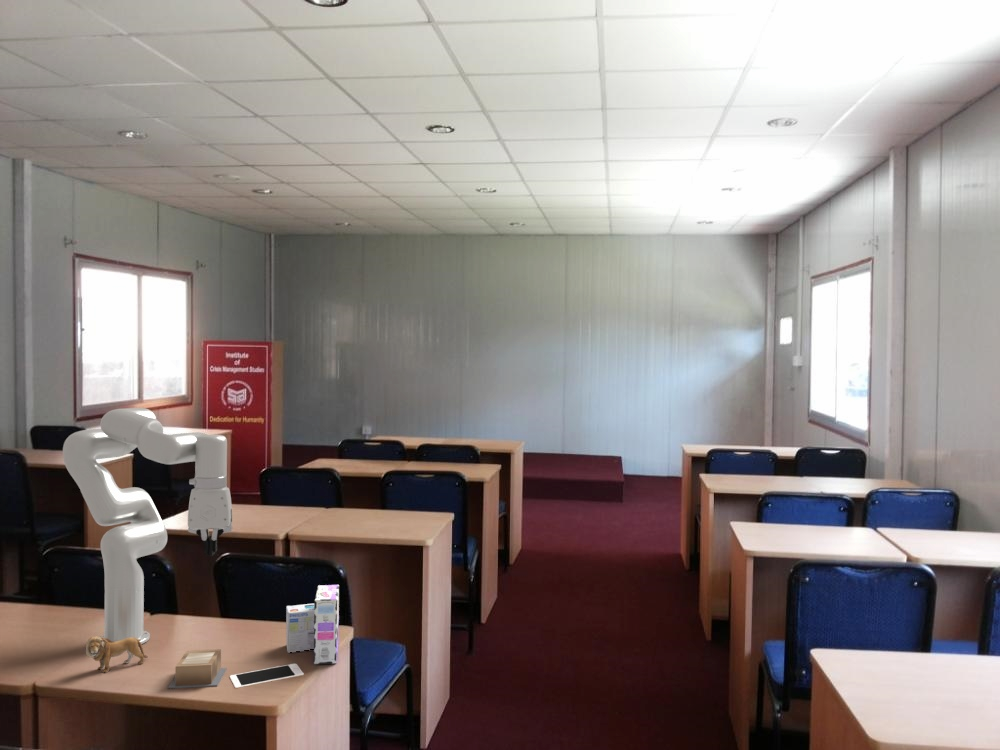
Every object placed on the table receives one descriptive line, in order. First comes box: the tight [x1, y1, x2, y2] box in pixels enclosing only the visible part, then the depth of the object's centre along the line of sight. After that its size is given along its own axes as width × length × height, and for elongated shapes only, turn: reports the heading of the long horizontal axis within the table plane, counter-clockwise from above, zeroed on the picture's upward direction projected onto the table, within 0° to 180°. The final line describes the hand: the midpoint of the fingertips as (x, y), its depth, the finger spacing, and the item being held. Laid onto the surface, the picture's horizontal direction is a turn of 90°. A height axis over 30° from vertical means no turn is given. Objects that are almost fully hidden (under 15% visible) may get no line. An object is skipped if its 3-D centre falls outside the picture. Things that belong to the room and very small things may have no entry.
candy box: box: [313, 584, 340, 665], centre depth 194 cm, size 14×6×16 cm, turn 10°
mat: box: [167, 667, 227, 690], centre depth 178 cm, size 10×11×1 cm
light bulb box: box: [285, 602, 315, 654], centre depth 199 cm, size 11×7×11 cm, turn 110°
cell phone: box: [229, 663, 304, 689], centre depth 180 cm, size 8×16×1 cm, turn 120°
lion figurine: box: [84, 635, 149, 673], centre depth 185 cm, size 15×5×9 cm, turn 139°
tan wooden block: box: [174, 648, 222, 686], centre depth 179 cm, size 5×8×10 cm
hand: (210, 554), depth 190 cm, fingers closed
